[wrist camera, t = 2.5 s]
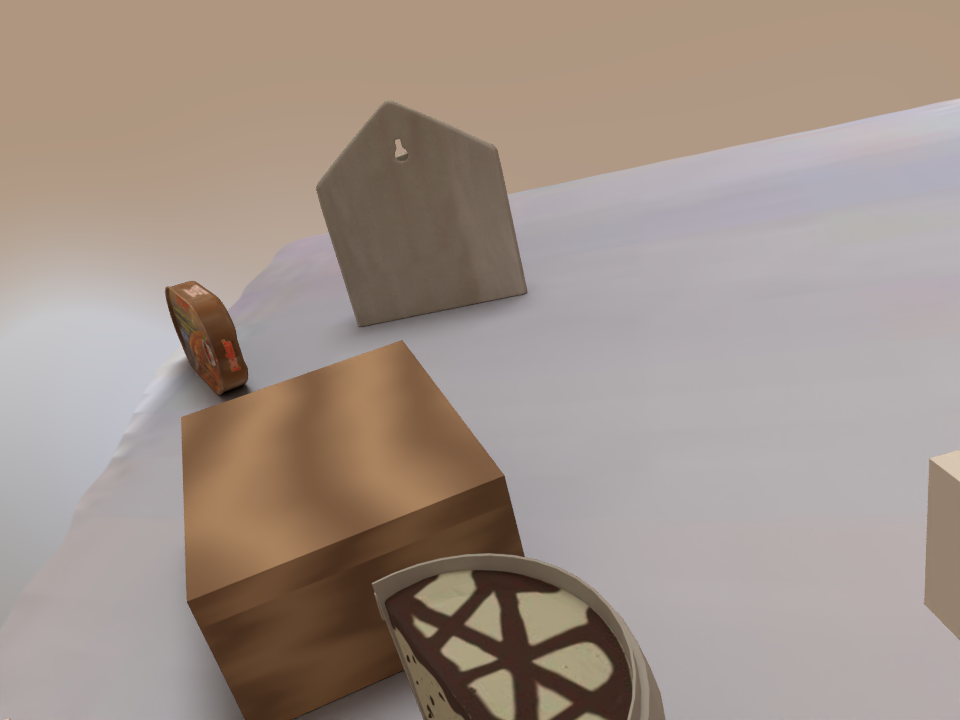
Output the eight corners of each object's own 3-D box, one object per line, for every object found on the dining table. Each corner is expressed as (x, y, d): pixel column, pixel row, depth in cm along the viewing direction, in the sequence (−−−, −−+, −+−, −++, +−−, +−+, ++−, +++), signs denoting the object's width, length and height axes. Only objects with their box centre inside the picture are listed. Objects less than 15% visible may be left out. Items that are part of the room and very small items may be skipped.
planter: (524, 264, 83) (483, 66, 74) (527, 293, 76) (482, 78, 67) (368, 296, 84) (311, 106, 76) (358, 328, 77) (293, 122, 69)
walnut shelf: (432, 445, 55) (402, 340, 52) (538, 611, 39) (504, 475, 36) (227, 523, 52) (181, 417, 49) (253, 736, 36) (186, 601, 33)
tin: (185, 360, 80) (151, 280, 76) (216, 347, 81) (184, 268, 77) (229, 408, 68) (191, 317, 64) (264, 392, 69) (230, 301, 65)
